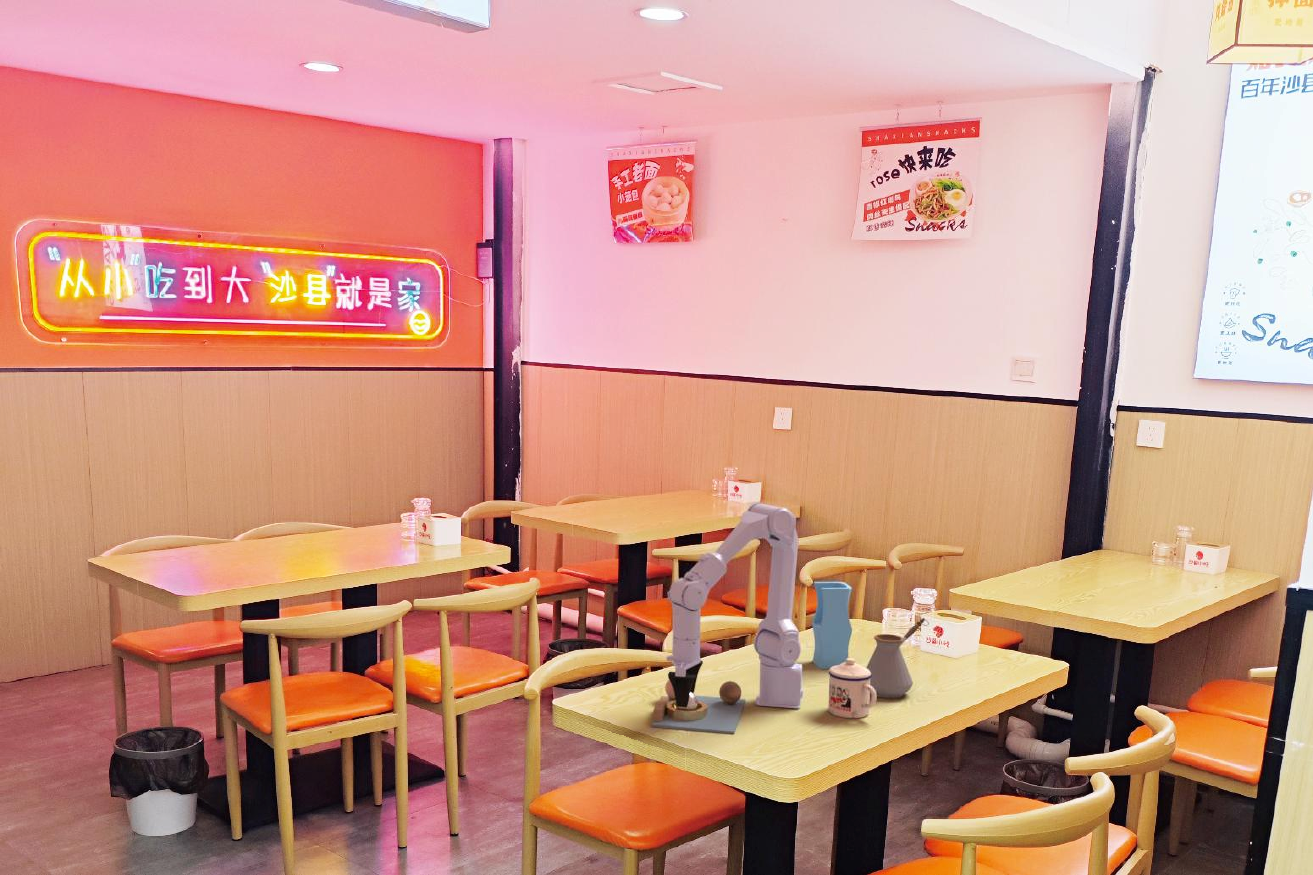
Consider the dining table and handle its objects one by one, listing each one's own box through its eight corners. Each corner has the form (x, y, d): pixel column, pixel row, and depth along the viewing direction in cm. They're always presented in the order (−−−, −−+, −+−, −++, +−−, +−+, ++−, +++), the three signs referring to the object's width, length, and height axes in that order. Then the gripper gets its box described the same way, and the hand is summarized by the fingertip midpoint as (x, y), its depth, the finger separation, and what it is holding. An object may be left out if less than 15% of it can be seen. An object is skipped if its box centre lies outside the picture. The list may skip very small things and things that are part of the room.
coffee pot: (894, 704, 237) (896, 637, 236) (850, 692, 245) (853, 627, 244) (944, 684, 252) (947, 622, 251) (902, 674, 260) (904, 613, 259)
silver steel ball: (696, 718, 226) (700, 696, 228) (694, 712, 222) (698, 690, 224) (674, 714, 227) (678, 692, 229) (671, 708, 223) (676, 686, 225)
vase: (811, 659, 271) (813, 581, 269) (841, 659, 271) (844, 581, 270) (819, 669, 263) (821, 588, 261) (850, 668, 264) (853, 588, 262)
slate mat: (745, 701, 237) (745, 688, 236) (734, 733, 216) (734, 719, 216) (669, 695, 240) (669, 682, 240) (651, 726, 219) (651, 712, 219)
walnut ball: (742, 700, 236) (742, 679, 235) (739, 707, 231) (740, 685, 231) (720, 698, 237) (721, 677, 236) (717, 705, 232) (718, 684, 231)
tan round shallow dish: (712, 711, 228) (712, 702, 228) (697, 723, 221) (697, 714, 220) (676, 705, 232) (676, 697, 232) (660, 716, 224) (660, 708, 224)
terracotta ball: (688, 696, 238) (688, 675, 238) (684, 703, 233) (685, 681, 233) (666, 694, 239) (667, 673, 238) (663, 701, 234) (663, 679, 234)
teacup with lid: (818, 710, 232) (820, 657, 231) (848, 702, 237) (849, 651, 236) (859, 726, 222) (861, 670, 221) (889, 718, 228) (891, 664, 227)
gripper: (673, 627, 231) (672, 688, 232) (661, 644, 217) (659, 710, 218) (705, 629, 230) (704, 691, 231) (695, 646, 216) (694, 712, 217)
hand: (685, 700), depth 224 cm, fingers open, 7 cm apart
